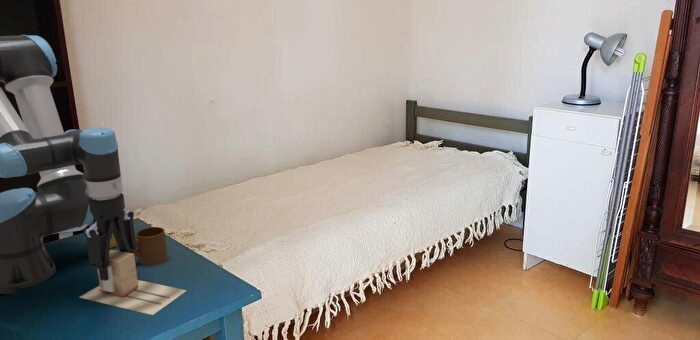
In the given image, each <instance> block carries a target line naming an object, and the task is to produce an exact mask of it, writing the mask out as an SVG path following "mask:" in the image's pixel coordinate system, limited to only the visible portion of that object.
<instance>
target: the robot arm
mask: <svg viewBox="0 0 700 340" xmlns="http://www.w3.org/2000/svg"><path fill="white" fill-rule="evenodd" d="M56 63H57V59H56V56H55V53H54V52H53V49H52V47H51V46H50V44H49V42H48V41H46V39H44V38H43V37H41V36H39V35H27V34H20V35H2V36H1V35H0V82H2V83H3V84H4V89H5V90H6V91H7V92H9V93H12V94H14V97H15V100H16V104H17V107H18V110H19V113H20V115H19V114H18V113H17V111H16V109H15V107H14V106H13V105H12V103H11V101H10V100H9V98H8V97H7V95H6V93H5V92H4V90H3V89H2V87H1V86H0V178H3V179H8V178H14V177H15V178H17V177H23V176H27V175H32V174H36V173H39V175H40V180H39V182H37V185H36V189H37V191H34V190H33V189H32V188H29V187H21V188H13V189H9V190H6V191H2V192H0V295H12V294H15V293H17V292H19V291H21V290H23V289H26V288H30V287H34V286H37V285H38V284H41V283H43V282H45V281H47V280H49V279H50V278H51V277H53V275H54V274H55V273H56V272H57V270H56V269H57V268H56V265H55V262H54V261H53V260H52V258H51V256H50V255H49V253H48V252H47V250H46V248H45V245H44V240H43V239H44V237H46V236H50V235H54V234H57V233H61V232H65V231H69V230H73V229H76V228H81V227H84V226H86V225H89V224H90V223H92V222H93V223H92V224H93V225H92V226H91V227H89V228H84V229H82V230H83V231H82V232H83V233H82V234H84V237H85V239H86V245H87V252H88V253H87V254H88V260H89V267H90V268H92V269H99V274H100V279H101V280H102V281H103V288H104V291H109V292H114V291H115V288H114V281H113V273H112V266H108V264H109V251H110V250H111V248H110V239H112V233H113V234H114V237H115V240H116V242H117V245H118V247H117V248H118V251H121V252H127V253H133V254H134V252H133V250H137V245H136V233H135V225H134V216H135V213H134V211H130V210H125V208H126V203H125V197H124V195H125V194H123V191H124V190H123V183H122V180H123V179H122V174H121V173H122V172H121V167H120V166H121V165H120V157H119V145H118V143H119V142H118V141H117V136H116V133H115V130H114V129H113V128H109V127H92V128H87V129H84V130H81V129H68V130H66V131H64V129H63V126H62V122H61V120H60V116H59V112H58V109H57V107H56V103H55V101H54V97H53V94H52V92H51V88H50V87H51V86H52V84H53V83H54V77H56V75H57V72H58V66H57V64H56ZM77 165H80V166H83V172H84V173H83V172H81V171H79V170H77V167H76V166H77ZM103 234H105V235H103ZM130 243H131V244H130Z"/></svg>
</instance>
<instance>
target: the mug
mask: <svg viewBox="0 0 700 340" xmlns="http://www.w3.org/2000/svg"><path fill="white" fill-rule="evenodd" d="M135 239H136V246H137V248H136V249H135V250H133V252H134V257H136V258H138V263H139V265H142V266H147V267H148V266H156V265H160V264H163V263H164V262H166V261H167V260H168V258H169V257H168V247H167V236H166V232H165V229H164V228H163V227H161V226H160V227H159V226H150V227H144V228H141V229H140V230H138V231H136V233H135ZM130 244H131V243H130Z"/></svg>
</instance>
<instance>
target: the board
mask: <svg viewBox="0 0 700 340" xmlns="http://www.w3.org/2000/svg"><path fill="white" fill-rule="evenodd" d="M137 280H138V288H137V289H135V290H133V291H132V292H130V293H129V294H127V295H126V296H124V297H122V296H117V295H113V294H108V293H103V292H101V290H100V284H99V285H97V286H96V287H94V288H92V289H91V290H89V291H87V292H86V293H84V294H82V295H80V296H79V298H80V299H84V300H88V301H92V302H97V303H100V304H101V303H102V304H107V305H110V306H114V307H118V308H121V309H126V310H131V311H134V312H138V313H142V314H146V315H147V314H148V315H151V316H154V315H155V314H156V313H158V312H159V311H161V310H162V309H163V308H165V307H166V306H168V305H169V304H171V302H173V301H174V300H176V299H177V298H179V297H180V296H181V295H183V294H184V293H186V291H187V290H186V289H182V288H177V287H172V286H167V285H163V284H159V283H155V282H149V281H145V280H144V281H143V280H139V279H137Z"/></svg>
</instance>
